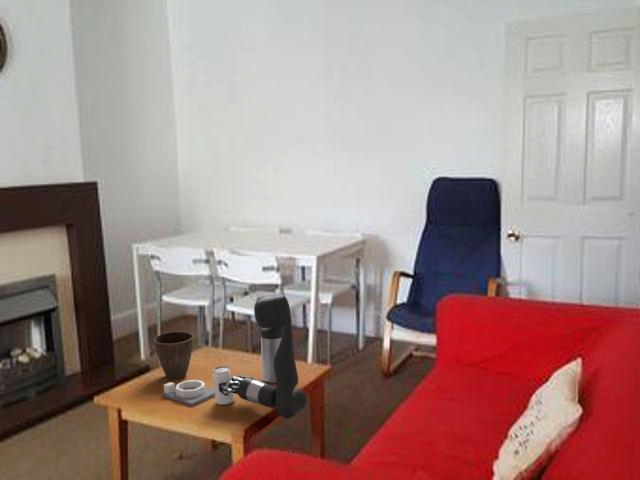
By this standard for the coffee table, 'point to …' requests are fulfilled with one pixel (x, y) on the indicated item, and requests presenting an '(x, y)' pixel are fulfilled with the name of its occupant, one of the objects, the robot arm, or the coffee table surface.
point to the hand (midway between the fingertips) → (220, 379)
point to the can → (222, 376)
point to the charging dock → (191, 400)
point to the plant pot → (174, 353)
